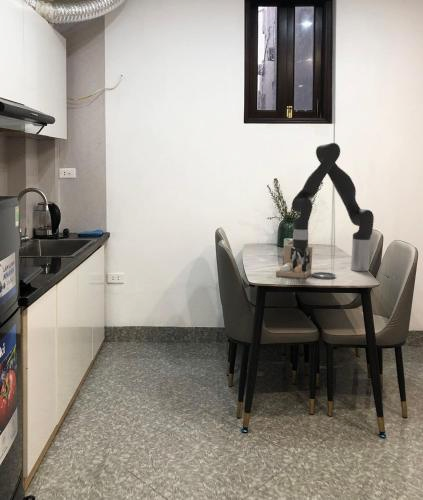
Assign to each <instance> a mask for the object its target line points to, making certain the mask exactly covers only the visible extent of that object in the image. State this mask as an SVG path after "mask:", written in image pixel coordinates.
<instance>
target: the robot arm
mask: <svg viewBox="0 0 423 500" xmlns="http://www.w3.org/2000/svg"><path fill="white" fill-rule="evenodd" d="M315 155H316V158H317V160H318V161H319V165H318V166H317V167H316V169H315V170H313V171H312V172H311V174H310V175H309V176H308V177H307V179H306V181H305V183H304V185H303V187H302V189H301V190H300V191H299V192H298V193H297V194H296V195H295V197H294V198H293V199H292V202H291V209H292V210H293V211H294V212H296V213H300V214H299V216H297V217H295V218H294V221H293V234H292V239H293V247H294V248H291V254H290V259H292V261H293V268H295V267H296V266H297V260H298V258H299V259H300V260H301V262H302V271H303V272H305V271H306V265H307V264H308V263H310V252H309V251H306V248H307V247H309V221H310V219H311V216H312V215H311V214H312V211H313V202H312V201H311V199H312V198H314V197H315V196H316V195H317V192H318V190H319V188H320V186H321V184H322V182H323V181H324V178H326V176H327V175H328V177H329V179H330V181H331V183H332V184H333V187H334V188H335V190H336V193H337V194H338V196H339V198H340V200H341V201H342V203H343V205H344V207H345V210H346V211H347V215H348V217H349V220H350V222H351V223H352V225H355V226H357V227H358V230H357V231H356V232H354V233H353V234H352V241H351V242H352V244H351V245H352V246H351V258H350V259H351V261H350V270H351V271H354V272H355V271H356V272H368V271H369V265H370V250H371V237H372V235H373V231H374V230H373V228H374V221H375V220H374V213H373V211H372V210H369V209H363V208H360V206H359V203H358V202H357V199H356V195H357V193H356V192H357V191H356V186H355V184H354V181H353V180H352V177H350V175H349V174H348V173H347V172H346V171H344V170H343V169H342V168H340V166H338V164H337V163H336V162H337V161H338V159H339V157H340V155H341V148H340V145H339V144H337V142H327V143H322V144H319V145H318V146H317V147H316V148H315ZM310 198H311V199H310ZM292 255H293V257H292ZM306 259H307V260H306ZM303 260H304V261H303Z"/></svg>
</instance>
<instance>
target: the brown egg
mask: <svg viewBox="0 0 423 500" xmlns="http://www.w3.org/2000/svg"><path fill="white" fill-rule="evenodd" d="M294 272H295V273H304V272H303V271H302V266H296V267H295V269H294Z"/></svg>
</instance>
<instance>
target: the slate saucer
mask: <svg viewBox="0 0 423 500" xmlns="http://www.w3.org/2000/svg"><path fill="white" fill-rule="evenodd" d="M311 275H312V277H313V278H316V279H321V280H332V279H335V278H336V274H335V273H333V272H326V271H320V272H319V271H316V272H313V273H311Z"/></svg>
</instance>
